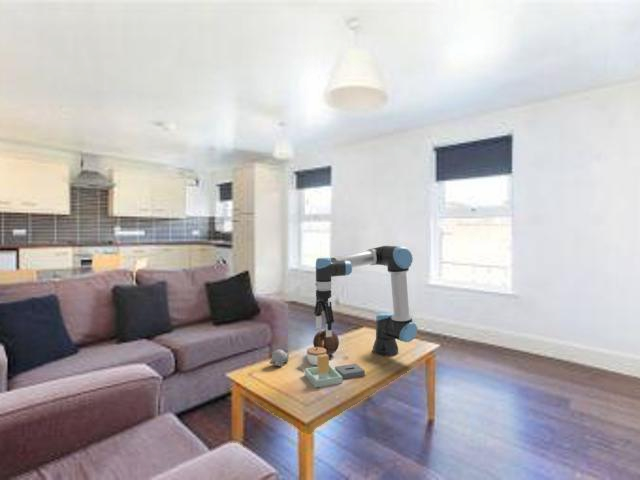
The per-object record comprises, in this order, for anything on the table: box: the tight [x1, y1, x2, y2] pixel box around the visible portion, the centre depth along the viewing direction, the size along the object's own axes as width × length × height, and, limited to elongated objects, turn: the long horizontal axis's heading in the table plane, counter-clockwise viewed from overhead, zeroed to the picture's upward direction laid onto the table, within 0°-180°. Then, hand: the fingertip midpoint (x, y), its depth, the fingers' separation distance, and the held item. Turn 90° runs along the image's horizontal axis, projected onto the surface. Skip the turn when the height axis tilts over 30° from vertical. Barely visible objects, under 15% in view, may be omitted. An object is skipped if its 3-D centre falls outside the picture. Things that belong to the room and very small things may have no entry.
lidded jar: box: [306, 346, 326, 366], centre depth 198 cm, size 11×11×9 cm
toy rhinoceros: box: [269, 349, 290, 368], centre depth 197 cm, size 7×12×8 cm, turn 140°
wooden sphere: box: [312, 328, 340, 357], centre depth 212 cm, size 15×15×15 cm
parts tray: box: [304, 364, 343, 389], centre depth 178 cm, size 14×16×4 cm
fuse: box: [316, 354, 330, 380], centre depth 178 cm, size 5×3×12 cm, turn 111°
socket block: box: [334, 363, 366, 380], centre depth 185 cm, size 12×10×3 cm
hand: (323, 332), depth 177 cm, fingers open, 13 cm apart
